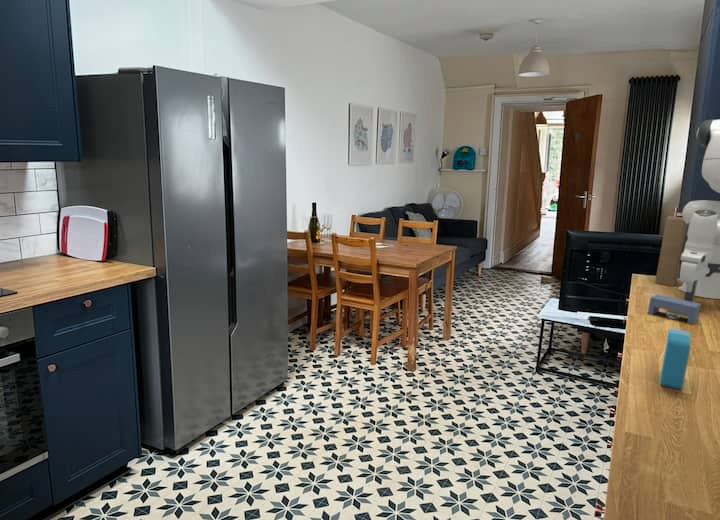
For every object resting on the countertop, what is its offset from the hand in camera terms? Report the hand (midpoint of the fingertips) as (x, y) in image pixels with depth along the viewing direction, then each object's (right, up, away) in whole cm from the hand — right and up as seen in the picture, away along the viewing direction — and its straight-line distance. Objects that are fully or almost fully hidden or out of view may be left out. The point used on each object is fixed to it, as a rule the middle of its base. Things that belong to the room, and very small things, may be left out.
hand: (690, 290), depth 194 cm
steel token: (-13, -9, -10) cm, 19 cm away
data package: (-46, -19, -64) cm, 81 cm away
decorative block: (+16, +1, +43) cm, 46 cm away
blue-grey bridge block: (-13, -9, -10) cm, 19 cm away
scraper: (-4, -7, -2) cm, 8 cm away
